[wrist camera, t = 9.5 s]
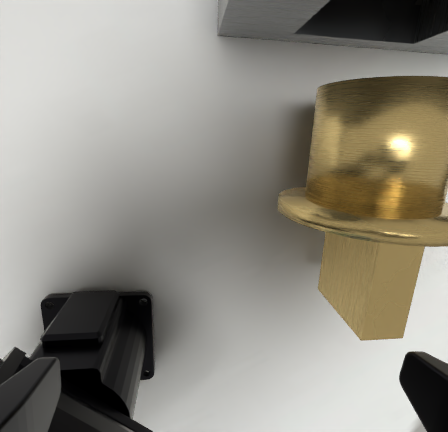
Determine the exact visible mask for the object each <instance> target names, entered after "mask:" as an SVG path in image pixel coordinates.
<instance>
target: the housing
mask: <svg viewBox="0 0 448 432" xmlns="http://www.w3.org/2000/svg"><path fill="white" fill-rule="evenodd" d="M217 35H220V36H232V37H244V38H256V39H268V40H281V41H293V42H305V43H317V44H330V45H342V46H354V47H366V48H378V49H391V50H403V51H415V52H427V53H440V54H448V0H218V33H217Z"/></svg>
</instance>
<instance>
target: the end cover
mask: <svg viewBox="0 0 448 432" xmlns="http://www.w3.org/2000/svg"><path fill="white" fill-rule="evenodd" d="M447 190H448V77H436V76H392V77H374V78H362V79H353V80H346V81H339V82H334V83H329V84H326V85H323V86H320V87H319V88H318V89H317V96H316V105H315V114H314V122H313V131H312V140H311V148H310V157H309V166H308V174H307V183H306V187H298V188H292V189H287V190H284V191H282V192H280V194H279V198H278V210H279V212H280V213H281V214H282V215H284V216H285V217H287V218H289V219H291V220H292V221H295V222H297V223H299V224H302V225H305V226H307V227H310V228H313V229H317V230H320V231H324V232H326V233H325V241H324V248H323V255H322V262H321V269H320V276H319V284H318V290H319V291H320V292H321V293H322V295H323V296H324V297H325V298H326V299H327V300H328V302H329V303H330V304H331V305H332V306H333V308H334V309H335V310H336V311H337V312H338V314H339V315H340V316H341V317H342V318H343V320H344V321H345V322H346V323H347V324H348V326H349V327H350V328H351V329H352V330H353V332H354V333H355V334H356V335H357V336H358V337H359V339H360V340H378V339H396V338H403V335H404V331H405V326H406V322H407V318H408V314H409V310H410V306H411V302H412V297H413V293H414V289H415V285H416V281H417V277H418V273H419V268H420V264H421V260H422V256H423V252H424V248H425V246H429V247H439V246H448V203H445V198H446V194H447Z"/></svg>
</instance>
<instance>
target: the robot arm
mask: <svg viewBox="0 0 448 432" xmlns="http://www.w3.org/2000/svg"><path fill="white" fill-rule="evenodd" d="M143 298H144V299H146V300H147V302H142V301H141V299H143ZM48 302H52V303H53V304H54V305H50V304H49V303H48ZM41 311H42V318H43V324H44V331H45V332H44V333H43V335H42V336H41V339H40V340H41V342H40V343H39V344H38V346H37V347H36V349H35V350H34V352H33V353H32V355H31V356H30V357H29V358H27V357H26V356H25V354H26V353H25V352H23V351H21V350H20V349H18V348H16V347H14V348H13V349H12V350H11V351H10V352H9V353H8V354H7V355H6V356H5V357H4V359H3V360H2V359H0V432H153V431H151V430H149V429H148V428H146V427H144V426H143V425H141V424H139V423H138V422H136V421H134V420H132V419H133V413H134V408H135V403H136V398H137V392H138V387H139V382H140V380H147V379H150V378H152V377H153V376H154V370H155V361H154V332H153V303H152V296H151V294H150V293H148V292H116V291H90V292H74V293H73V294H53V295H48V296H46V297H45V298H44V299H43V300H42V302H41ZM146 370H147V371H149V372H145V371H146ZM399 380H400V384H401V386H402V388H403V390H404V392H405V393H406V395H407V397H408V399H409V401H410V402H411V404H412V406H413V408H414V410H415V411H416V413H417V415H418V417H419V419H420V420H421V422H422V424H423V426H424V427H425V429H426V431H427V432H448V364H447V363H445V362H443V361H441V360H439V359H437V358H435V357H433V356H431V355H429V354H427V353H425V352H408V353H407V354H406V355H405V358H404V361H403V365H402V368H401V371H400V375H399Z"/></svg>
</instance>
